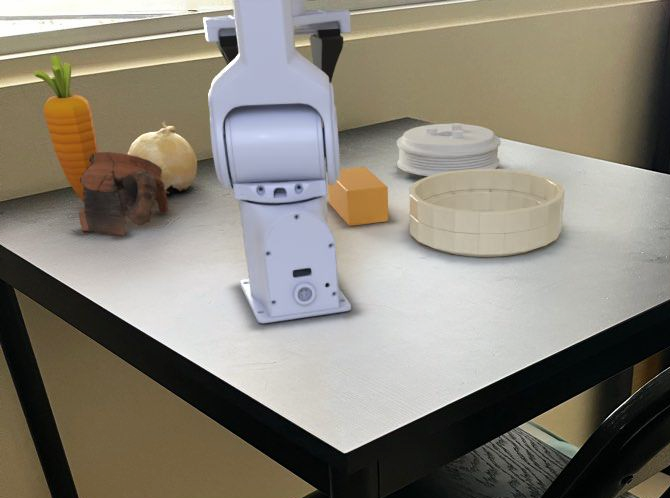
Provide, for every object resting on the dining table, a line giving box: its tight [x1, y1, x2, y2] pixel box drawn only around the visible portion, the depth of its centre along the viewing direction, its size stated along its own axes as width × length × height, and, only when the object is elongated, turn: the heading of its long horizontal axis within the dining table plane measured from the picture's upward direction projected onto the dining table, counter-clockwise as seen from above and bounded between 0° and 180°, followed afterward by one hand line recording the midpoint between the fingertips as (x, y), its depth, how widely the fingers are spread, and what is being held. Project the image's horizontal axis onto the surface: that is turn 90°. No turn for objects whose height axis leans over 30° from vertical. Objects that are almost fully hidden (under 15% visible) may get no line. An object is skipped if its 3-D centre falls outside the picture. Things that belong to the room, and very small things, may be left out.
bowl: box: [408, 168, 566, 258], centre depth 87 cm, size 15×15×4 cm
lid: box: [396, 122, 501, 177], centre depth 107 cm, size 13×13×5 cm
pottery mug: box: [78, 151, 169, 236], centre depth 92 cm, size 12×10×8 cm
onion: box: [127, 121, 198, 196], centre depth 102 cm, size 8×8×7 cm
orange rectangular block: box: [326, 166, 389, 227], centre depth 94 cm, size 8×4×4 cm, turn 18°
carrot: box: [34, 55, 99, 203], centre depth 95 cm, size 5×5×15 cm
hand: (286, 115), depth 92 cm, fingers open, 7 cm apart
